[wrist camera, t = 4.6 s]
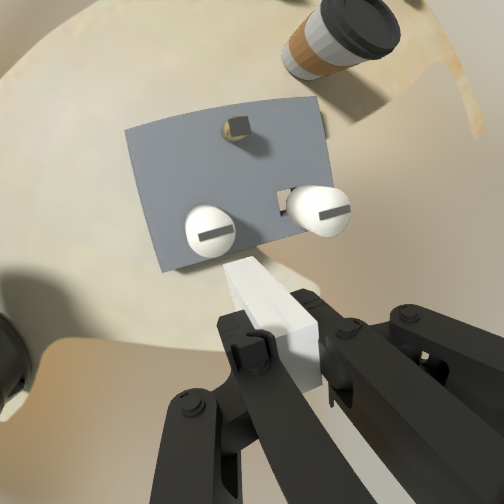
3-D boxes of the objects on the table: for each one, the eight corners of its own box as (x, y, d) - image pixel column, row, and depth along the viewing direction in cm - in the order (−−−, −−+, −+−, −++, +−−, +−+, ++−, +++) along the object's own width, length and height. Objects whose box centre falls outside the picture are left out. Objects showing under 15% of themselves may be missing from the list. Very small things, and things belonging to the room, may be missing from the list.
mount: (162, 264, 33) (162, 273, 30) (128, 133, 27) (124, 130, 24) (326, 218, 37) (338, 222, 34) (305, 101, 32) (316, 96, 29)
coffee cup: (298, 26, 28) (360, -25, 14) (339, 67, 31) (414, 35, 17) (259, 55, 28) (314, -3, 14) (305, 99, 32) (381, 68, 18)
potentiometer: (223, 144, 28) (230, 140, 24) (218, 123, 27) (225, 116, 24) (245, 140, 28) (255, 135, 25) (240, 119, 27) (250, 112, 24)
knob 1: (189, 242, 32) (194, 263, 25) (179, 206, 31) (181, 217, 23) (224, 232, 33) (240, 250, 26) (216, 196, 32) (230, 204, 24)
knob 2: (279, 226, 31) (313, 244, 24) (272, 187, 29) (305, 193, 22) (314, 217, 32) (354, 231, 24) (308, 179, 30) (349, 183, 23)
